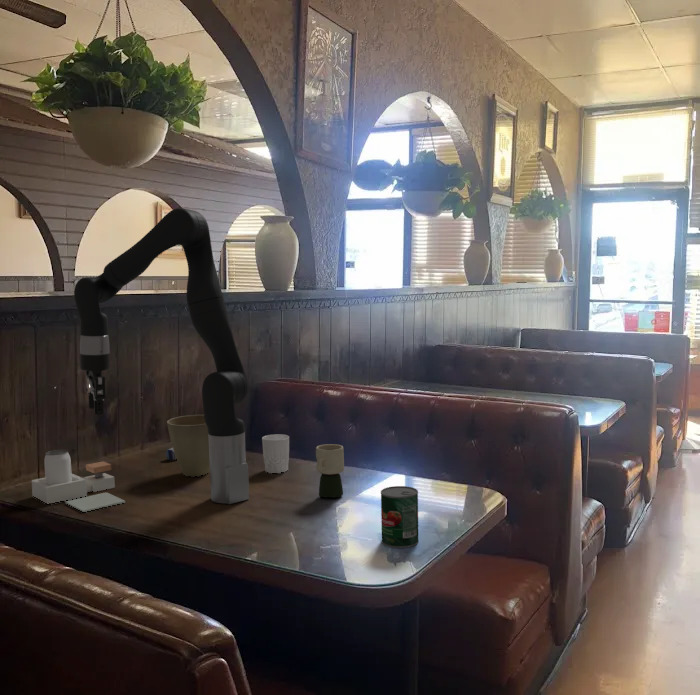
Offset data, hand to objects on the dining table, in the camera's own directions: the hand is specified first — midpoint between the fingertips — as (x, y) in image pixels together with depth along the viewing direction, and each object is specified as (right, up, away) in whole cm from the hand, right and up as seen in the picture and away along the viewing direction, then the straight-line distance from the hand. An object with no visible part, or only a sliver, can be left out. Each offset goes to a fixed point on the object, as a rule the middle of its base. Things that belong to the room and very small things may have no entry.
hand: (95, 411), depth 204 cm
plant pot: (+24, -20, +15) cm, 35 cm away
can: (-8, -22, -4) cm, 24 cm away
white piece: (-4, -22, -1) cm, 22 cm away
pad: (+4, -23, -11) cm, 26 cm away
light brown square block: (0, -19, +3) cm, 20 cm away
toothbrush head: (+20, -17, +41) cm, 49 cm away
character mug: (+64, -21, -10) cm, 68 cm away
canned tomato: (+79, -24, -44) cm, 94 cm away
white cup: (+47, -19, +16) cm, 54 cm away
